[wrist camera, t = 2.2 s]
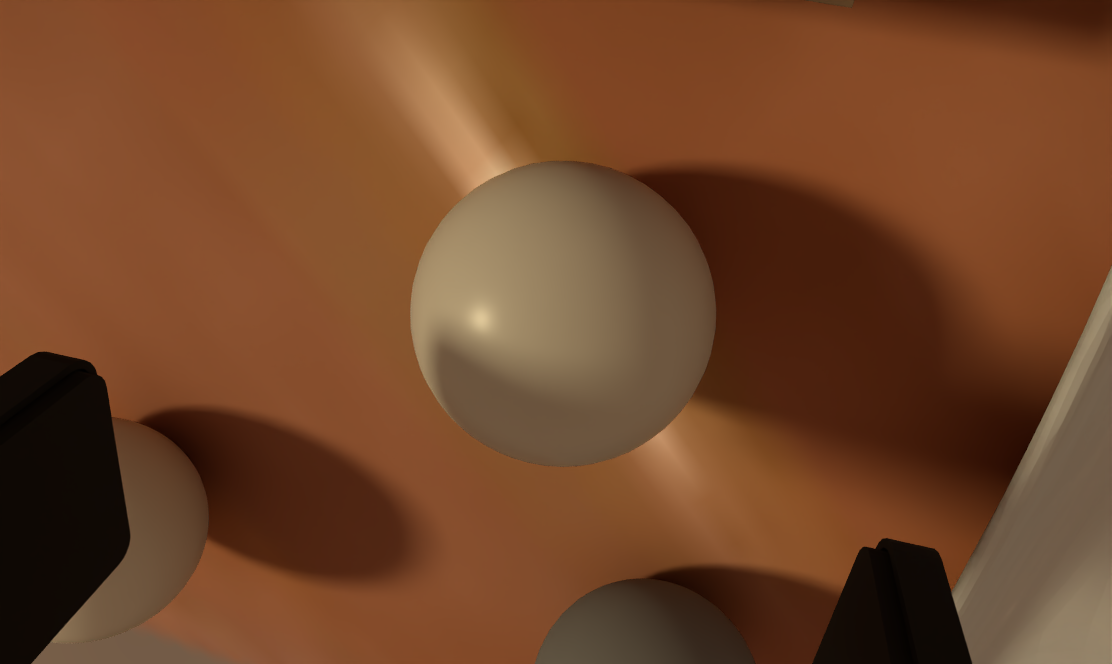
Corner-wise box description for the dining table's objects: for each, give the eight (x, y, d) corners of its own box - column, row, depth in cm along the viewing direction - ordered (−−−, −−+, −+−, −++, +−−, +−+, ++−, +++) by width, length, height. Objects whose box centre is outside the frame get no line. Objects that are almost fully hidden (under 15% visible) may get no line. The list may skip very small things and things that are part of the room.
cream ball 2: (750, 151, 15) (747, 277, 10) (691, 387, 17) (670, 564, 13) (471, 99, 15) (362, 199, 11) (454, 336, 18) (360, 490, 14)
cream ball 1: (241, 400, 20) (102, 551, 16) (254, 552, 22) (137, 718, 18) (47, 355, 20) (-139, 490, 16) (82, 509, 23) (-71, 660, 19)
